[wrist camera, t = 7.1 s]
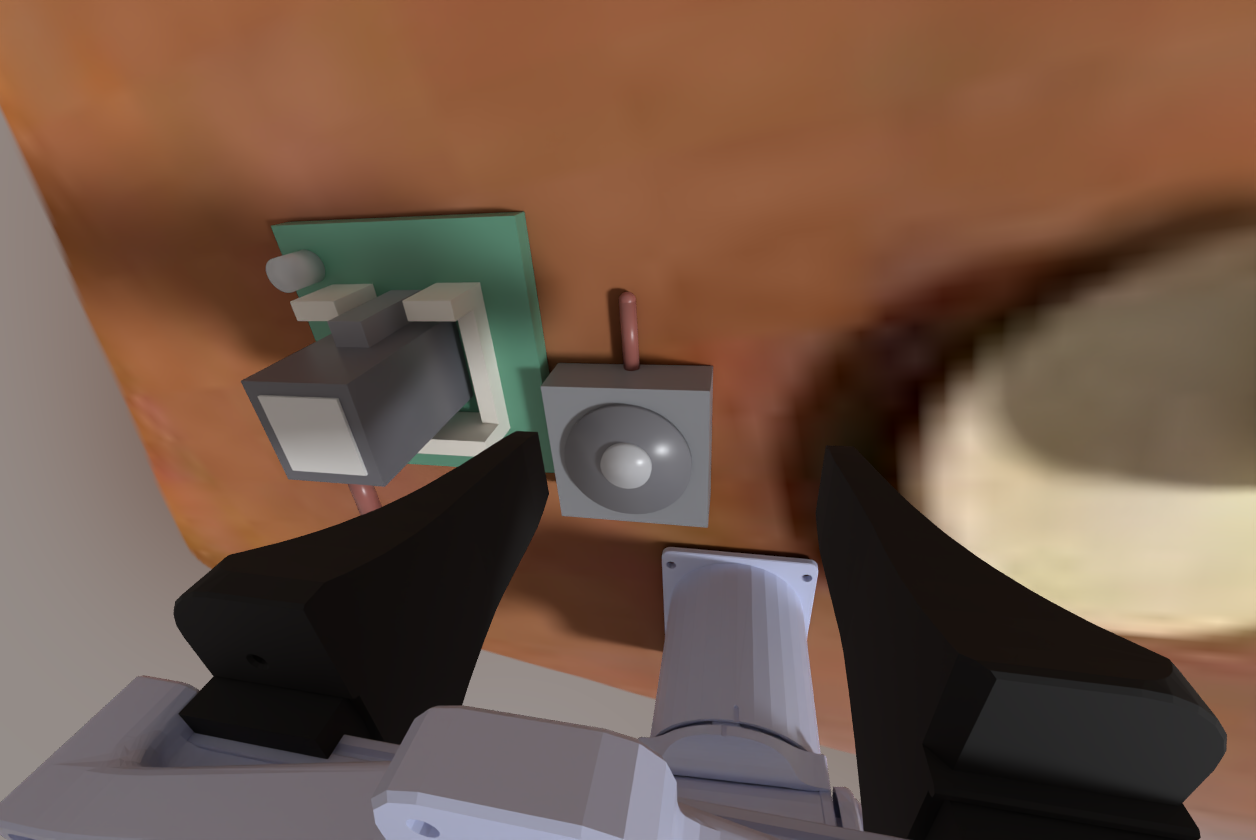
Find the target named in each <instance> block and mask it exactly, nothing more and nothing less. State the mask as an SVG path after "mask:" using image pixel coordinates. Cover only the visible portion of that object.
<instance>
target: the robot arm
mask: <svg viewBox="0 0 1256 840" xmlns="http://www.w3.org/2000/svg"><path fill="white" fill-rule="evenodd" d="M548 495H549V491H548V485H547V480H546V474H545V469H544V463H543V457H542V452H541V446H540V441H539V435H538V432H529V431H515V432H513V433H511V434H510V435H508V436H506V437H504V438H503V439H501V440H499V441H498V442H496V443H495V444H493V445H491V446H490V447H488V448H487V449H485V450H484V451H482V452H481V453H479V454H477V455H476V456H474V457H473V458H471V459H469V460H468V461H466V462H465V463H463V464H462V465H460V466H458V467H457V468H455V469H453V470H452V471H450V472H448V473H446V474H445V475H443V476H441V477H439V478H438V479H436V480H434V481H433V482H431V483H429V484H427V485H426V486H424V487H422V488H420V489H418V490H416V491H414V492H412V493H410V494H408V495H407V496H404V497H402V498H400V499H398V500H396V501H394V502H392V503H390V504H387V505H385V506H383V507H381V508H378V509H376V510H373V511H371V512H368V513H366V514H363V515H361V516H358V517H356V518H353V519H351V520H348V521H346V522H343V523H340V524H338V525H335V526H332V527H329V528H326V529H323V530H320V531H317V532H314V533H311V534H307V535H304V536H301V537H298V538H294V539H291V540H287V541H284V542H280V543H276V544H272V545H268V546H264V547H260V548H256V549H252V550H248V551H244V552H240V553H235V554H231V555H228V556H227V557H226V558H224V559H223V560H222V561H221V562H220V563H219V564H218V565H216V566H215V567H214V568H213V569H212V570H211V571H209V573H207V574H206V575H205V576H204V577H202V578H201V579H200V580H199V581H198V582H196V583H195V584H194V585H193V586H192V587H191V588H189V589H188V590H187V591H186V592H185V593H183V594H182V595H181V596H180V597H179V598H178V599H177V600H176V601H175V606H174V618H175V622H176V625H177V627H178V629H179V630H180V632H181V633H182V635H183V636H184V638H185V639H186V641H187V642H188V643H189V645H190V646H191V647H192V648H193V650H194V651H195V652H196V654H197V655H198V656H199V658H200V659H201V660H202V662H203V663H204V664H205V666H206V667H207V668H208V670H209V671H210V672H211V673H212V675H213V676H214V677H213V678H212V679H211V680H210V681H209V682H208V683H207V684H206V685H205V686H204V687H203V688H202V690H200V691H199V690H198V689H196V688H195V687H193V686H191V685H189V684H186V683H183V682H178V681H172V680H167V679H161V678H156V677H150V676H138V677H136V678H135V679H134V680H133V681H132V682H131V683H130V684H128V686H127V687H125V688H124V689H123V690H122V691H121V692H120V693H119V694H118V695H117V696H115V697H114V698H113V699H112V700H111V701H110V702H109V703H108V704H107V705H106V706H105V707H103V708H102V709H101V710H100V711H99V712H98V713H97V714H96V715H95V716H94V717H93V718H91V719H90V720H89V721H88V722H87V723H86V724H85V725H84V726H83V727H82V728H81V729H80V730H78V731H77V732H76V733H75V734H74V735H73V736H72V737H71V738H70V739H69V740H68V741H66V742H65V743H64V744H63V745H62V746H61V747H60V748H59V749H58V750H57V751H56V752H54V753H53V755H51V756H50V757H49V758H48V759H47V760H46V761H45V762H44V763H43V764H41V765H40V766H39V767H38V768H37V769H36V770H35V771H34V772H33V773H32V774H31V775H30V776H28V777H27V778H26V779H25V780H24V781H23V782H22V783H21V784H20V785H19V786H18V787H17V788H15V789H14V790H13V791H12V792H11V793H10V794H9V795H8V796H7V797H6V798H4V799H3V800H2V801H1V802H0V835H1V836H2V837H4V838H6V839H7V840H1199V839H1200V838H1201V837H1200V831H1199V828H1198V827H1197V825H1196V824H1195V822H1194V821H1193V819H1192V817H1191V816H1190V814H1189V813H1188V811H1187V810H1186V808H1185V807H1184V805H1183V802H1184V801H1185V800H1186V798H1187V797H1188V796H1189V795H1190V794H1191V793H1192V792H1193V791H1194V790H1195V789H1196V788H1197V787H1198V786H1199V785H1200V784H1201V783H1202V782H1203V781H1204V780H1205V779H1206V778H1207V777H1208V776H1209V775H1210V774H1211V773H1212V772H1213V771H1214V770H1215V768H1216V767H1217V765H1218V763H1219V762H1220V760H1221V759H1222V757H1223V756H1224V754H1225V752H1226V744H1227V734H1226V732H1225V730H1224V729H1223V727H1222V725H1221V724H1220V722H1219V720H1218V719H1217V718H1216V716H1215V715H1214V714H1213V712H1212V711H1211V710H1210V709H1209V707H1208V706H1207V705H1206V704H1205V702H1204V701H1203V700H1202V699H1201V697H1200V696H1199V695H1198V693H1197V692H1196V691H1195V690H1194V688H1193V687H1192V686H1191V685H1190V683H1189V682H1188V681H1187V680H1186V679H1185V677H1184V676H1183V675H1182V674H1181V672H1180V671H1179V670H1178V669H1177V668H1176V666H1175V665H1174V664H1173V663H1172V662H1171V661H1170V659H1168V658H1166V657H1164V656H1161V655H1159V654H1157V653H1155V652H1153V651H1151V650H1148V649H1146V648H1144V647H1142V646H1140V645H1138V644H1135V643H1133V642H1131V641H1129V640H1127V639H1125V638H1122V637H1120V636H1118V635H1116V634H1114V633H1112V632H1109V631H1107V630H1105V629H1103V628H1101V627H1099V626H1096V625H1094V624H1092V623H1090V622H1088V621H1086V620H1085V619H1083V618H1081V617H1079V616H1077V615H1075V614H1073V613H1071V612H1069V611H1067V610H1066V609H1064V608H1062V607H1060V606H1058V605H1056V604H1054V603H1052V602H1050V601H1049V600H1047V599H1045V598H1043V597H1042V596H1040V595H1038V594H1036V593H1035V592H1033V591H1031V590H1029V589H1028V588H1026V587H1024V586H1023V585H1021V584H1019V583H1018V582H1016V581H1014V580H1013V579H1011V578H1010V577H1008V576H1006V575H1005V574H1003V573H1001V572H1000V571H998V570H997V569H995V568H993V567H992V566H990V565H989V564H987V563H986V562H984V561H983V560H981V559H980V558H978V557H977V556H976V555H974V554H973V553H971V552H970V551H969V550H967V549H966V548H965V547H963V546H962V545H960V544H959V543H958V542H956V541H955V540H953V539H952V538H951V537H949V536H948V535H947V534H946V533H944V532H943V531H942V530H940V529H939V528H938V527H937V526H936V525H934V524H933V523H932V522H931V521H930V520H929V519H927V518H926V517H925V516H924V515H923V514H921V513H920V512H919V511H918V510H917V509H916V508H915V507H913V506H912V505H911V504H910V503H909V502H908V501H907V500H906V499H905V498H904V497H903V496H902V495H900V494H899V493H898V492H897V491H896V490H895V489H894V488H893V487H892V486H891V485H890V484H889V483H888V482H887V481H886V480H885V479H884V478H883V477H882V476H881V475H880V474H879V473H878V472H877V471H876V470H875V469H874V467H873V466H872V465H871V464H870V463H869V462H868V461H867V460H866V459H865V458H864V457H863V456H862V455H861V454H860V453H859V452H858V451H857V450H856V449H855V448H854V447H847V446H826V449H825V456H824V462H823V469H822V475H821V482H820V488H819V495H818V501H817V508H816V521H817V532H818V541H819V550H820V554H821V558H822V563H823V567H824V571H825V575H826V579H827V583H828V587H829V591H830V596H831V600H832V604H833V608H834V612H835V616H836V620H837V624H838V628H839V632H840V637H841V642H842V647H843V652H844V659H845V667H846V674H847V682H848V689H849V697H850V705H851V713H852V722H853V730H854V738H855V748H856V757H857V767H858V776H859V786H860V796H861V804H860V803H859V801H858V800H857V799H856V798H854V796H853V793H852V792H851V791H850V790H849V789H848V788H846V787H833V795H832V797H831V789H830V781H829V773H828V766H827V758H826V756H825V755H823V754H821V753H820V744H819V736H818V728H817V720H816V712H815V704H814V696H813V688H812V680H811V671H810V663H809V655H808V647H807V635H808V629H809V623H810V617H811V611H812V606H813V600H814V594H815V588H816V582H817V576H818V566H817V563H816V562H815V561H813V560H810V559H802V558H790V557H779V556H768V555H757V554H746V553H734V552H723V551H712V550H701V549H690V548H678V547H667V548H665V549H664V550H663V553H662V575H663V598H664V621H665V642H664V649H663V656H662V662H661V669H660V676H659V682H658V689H657V696H656V703H655V710H654V716H653V723H652V729H651V736H650V737H640V738H638V739H636V738H633V737H630V736H627V735H623V734H620V733H617V732H614V731H610V730H607V729H603V728H597V727H590V726H585V725H578V724H573V723H566V722H560V721H554V720H548V719H542V718H536V717H529V716H524V715H517V714H511V713H505V712H499V711H493V710H487V709H481V708H475V707H469V706H462V703H463V700H464V697H465V694H466V691H467V688H468V685H469V682H470V679H471V676H472V673H473V670H474V668H475V665H476V662H477V659H478V656H479V654H480V651H481V648H482V645H483V642H484V640H485V637H486V635H487V632H488V629H489V627H490V624H491V622H492V619H493V616H494V614H495V611H496V609H497V607H498V605H499V602H500V600H501V598H502V596H503V594H504V592H505V590H506V588H507V586H508V584H509V582H510V580H511V578H512V576H513V574H514V572H515V570H516V569H517V567H518V565H519V563H520V561H521V559H522V557H523V555H524V553H525V551H526V549H527V547H528V545H529V543H530V541H531V539H532V537H533V535H534V533H535V531H536V529H537V527H538V525H539V522H540V519H541V516H542V514H543V511H544V508H545V505H546V501H547V498H548ZM669 562H674V563H669ZM803 575H809V576H803ZM832 799H833V801H832Z"/></svg>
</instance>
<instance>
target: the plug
mask: <svg viewBox="0 0 1256 840" xmlns="http://www.w3.org/2000/svg"><path fill="white" fill-rule="evenodd" d="M420 291H421V290H390V291H388V292H386V293H384V294H382V295H380V296H378V297H376V298H374V299H372V300H370V301H368V302H366V303H364V304H362V305H360V306H358V307H355V308H353V309H351V310H349V311H347V312H345V313H343V314H341V315H339V316H337V317H335V318H333V319H331V320H329V321H327V323H328V325H329V328H330V331H331V333H332V334H330V335H328V336H326V337H324V338H322V339H320V340H318V341H316V342H315V343H313V344H311V345H309V346H307V347H305V348H303V349H301V350H299V351H297V352H295V353H293V354H292V355H290V356H288V357H286V358H284V359H282V360H280V361H278V362H276V363H274V364H272V365H270V366H269V367H267V368H265V369H263V370H261V371H259V372H257V373H255V374H253V375H251V376H249V377H247V378H246V379H244V380H242V381H241V383H242V385H243V387H244V389H245V391H246V393H247V395H248V397H249V399H250V401H251V403H252V405H253V407H254V409H255V411H256V413H257V415H258V418H259V420H260V422H261V424H262V426H263V428H264V430H265V432H266V434H267V436H268V438H269V440H270V442H271V444H272V446H273V448H274V450H275V452H276V454H277V456H278V459H279V461H280V463H281V465H282V467H283V469H284V471H285V473H286V475H287V477H288V479H293V480H306V481H319V482H332V483H345V484H348V486H349V488H350V491H351V493H352V496H353V498H354V500H355V503H356V505H357V507H358V510H359V512H360V515H363V514H366V513H368V512H371V511H373V510H376V509H378V508H381V507H382V506H381V503H380V501H379V498H378V495H377V493H376V490H375V488H374V486H384V487H385V486H386V485H387V484H388V483H389V482H390V481H391V480H392V479H393V478H394V477H395V476H396V475H397V474H398V473H399V472H400V471H401V470H402V469H403V468H404V466H405V465H406V464H407V463H408V462H409V461H410V460H411V459H412V458H413V457H414V456H415V455H416V454H417V453H418V452H419V451H420V450H421V449H422V448H423V447H424V446H425V445H426V444H427V443H428V442H429V441H430V440H431V439H432V438H433V437H434V436H435V435H436V434H437V433H438V432H439V431H440V430H441V428H442V427H443V426H444V425H445V424H446V423H447V422H448V421H449V420H450V419H451V418H452V417H453V416H454V415H455V414H456V413H457V412H458V411H459V410H460V409H461V408H462V407H463V406H464V405H465V404H466V403H467V402H468V401H469V400H470V399H471V398H472V397H473V396H474V395H473V391H472V387H471V383H470V378H469V374H468V370H467V366H466V362H465V358H464V353H463V349H462V345H461V341H460V337H459V332H458V328H457V324H456V321H408V319H407V316H406V312H405V309H404V306H403V302H402V301H403V300H405V299H407V298H408V297H410V296H412V295H414V294H416V293H418V292H420Z"/></svg>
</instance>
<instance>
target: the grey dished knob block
mask: <svg viewBox="0 0 1256 840" xmlns="http://www.w3.org/2000/svg"><path fill="white" fill-rule="evenodd" d="M619 311H620V324H621V337H622V351H623V364H581V363H558V364H557V365H556V367H555V368H554V369H553V370H552V372H551V373H550V374H549V376H548V377H547V378H546V380H545V381H544V382H543V384H542V385H541V392H542V398H543V404H544V410H545V416H546V422H547V428H548V434H549V440H550V446H551V452H552V458H553V464H554V470H555V476H556V482H557V488H558V494H559V500H560V506H561V512H562V516H572V517H584V518H596V519H609V520H621V521H634V522H646V523H658V524H671V525H683V526H696V527H708V518H709V506H710V492H711V443H712V394H713V366H688V365H640V363H639V346H638V329H637V311H636V298H635V296H634V294H633V293H631V292H624V293H622V294H621V295H620V297H619Z"/></svg>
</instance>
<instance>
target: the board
mask: <svg viewBox="0 0 1256 840" xmlns="http://www.w3.org/2000/svg"><path fill="white" fill-rule="evenodd" d="M271 228H272V230H273V233H274V236H275V238H276V241H277V243H278V246H279V248H280V251H281V253H282V256H279V257H276V258H273V259H270V260H269V261H268V262H267V264H266V273H267V276H268V278H269V280H270V281H271V283H272V284H273V285H274V286H275V287H276V288H277V289H279V290H280V291H283V292H286V293H291V292H294V291H296V292H297V294H298V297H299V298H298V299H295V300H293V301H290V303H291V306H292V308H293V311H294V313H295V316H296V318H297V321H308V322H309V325H310V327H311V330H312V333H313V335H314V338H315V340H316V341H318V340H320V339H322V338H324V337H326V336H328V335H330V334H332V333H331V331H330V328H329V325H328V323H327V321H329V320H331V319H333V318H335V317H337V316H339V315H341V314H343V313H345V312H347V311H349V310H351V309H353V308H355V307H358V306H360V305H362V304H364V303H366V302H368V301H370V300H372V299H374V298H376V297H378V296H380V295H382V294H384V293H386V292H388V291H390V290H421V291H420V292H418V293H416V294H414V295H412V296H410V297H408V298H407V299H405V300H403V301H402V302H403V306H404V309H405V312H406V316H407V319H408V321H456V324H457V328H458V332H459V337H460V341H461V345H462V349H463V353H464V358H465V362H466V366H467V370H468V374H469V378H470V383H471V387H472V391H473V395H474V396H473V397H472V398H471V399H470V400H469V401H468V402H467V403H466V404H465V405H464V406H463V407H462V408H461V409H460V410H459V411H458V412H457V413H456V414H455V415H454V416H453V417H452V418H451V419H450V420H449V421H448V422H447V423H446V424H445V425H444V426H443V427H442V428H441V430H440V431H439V432H438V433H437V434H436V435H435V436H434V437H433V438H432V439H431V440H430V441H429V442H428V443H427V444H426V445H425V446H424V447H423V448H422V449H421V450H420V451H419V452H418V453H417V454H416V455H415V456H414V457H413V458H412V459H411V460H410V461H409V462H408V463H407V464H422V465H438V466H454V467H458V466H460V465H462V464H463V463H465V462H466V461H468V460H469V459H471V458H473V457H474V456H476V455H477V454H479V453H481V452H482V451H484V450H485V449H487V448H488V447H490V446H491V445H493V444H495V443H496V442H498V441H499V440H501V439H503V438H504V437H506V436H508V435H510V434H511V433H513V432H515V431H529V432H538V435H539V441H540V446H541V452H542V457H543V463H544V469H545V472H548V473H555V470H554V464H553V458H552V452H551V446H550V440H549V434H548V428H547V422H546V416H545V410H544V404H543V398H542V392H541V385H542V384H543V382H544V381H545V380H546V378H547V377H548V376H549V368H548V361H547V355H546V348H545V342H544V335H543V329H542V323H541V316H540V310H539V303H538V297H537V290H536V284H535V277H534V271H533V265H532V258H531V252H530V245H529V239H528V232H527V226H526V219H525V213H524V212H504V213H481V214H457V215H434V216H411V217H388V218H365V219H342V220H319V221H296V222H286V223H281V224H277V225H272V226H271Z"/></svg>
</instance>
